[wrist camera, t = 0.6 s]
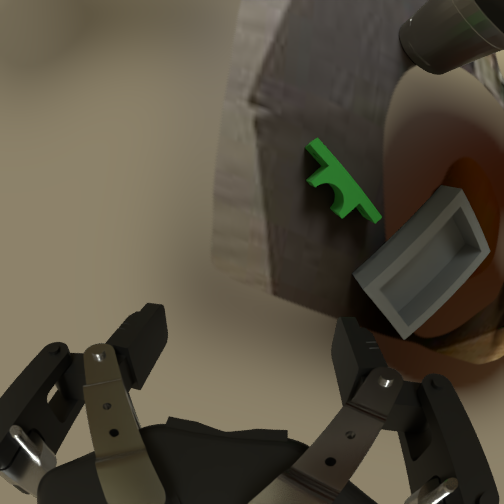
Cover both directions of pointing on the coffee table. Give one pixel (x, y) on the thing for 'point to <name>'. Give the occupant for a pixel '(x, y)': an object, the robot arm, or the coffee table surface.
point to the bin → (424, 260)
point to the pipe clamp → (339, 184)
